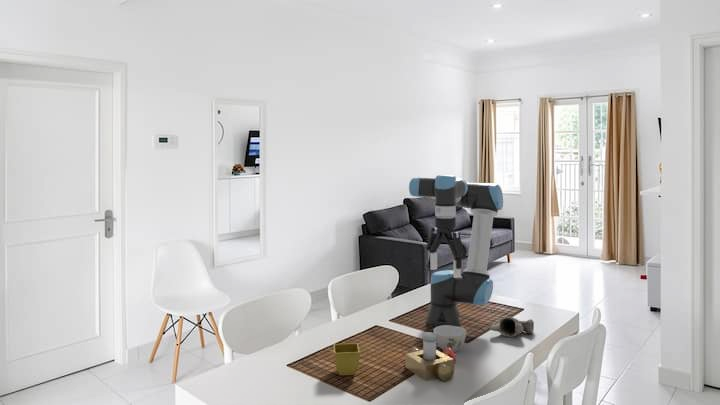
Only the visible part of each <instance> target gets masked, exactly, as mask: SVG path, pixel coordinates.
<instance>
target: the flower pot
mask: <svg viewBox="0 0 720 405" xmlns="http://www.w3.org/2000/svg"><path fill="white" fill-rule="evenodd" d="M332 345H333V356H334V363H335V368H336V372H337V373H338V375H339V376H341V375H342V376H353V375H356V373H357V371H358V368H359V364H360V355H361V354H360V351H361V350H360V347H359V343H357V342H356V343H355V342H354V343H353V342H351V343H335V344H334V343H333V344H332Z"/></svg>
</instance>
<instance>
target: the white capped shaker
mask: <svg viewBox="0 0 720 405" xmlns="http://www.w3.org/2000/svg"><path fill="white" fill-rule="evenodd" d="M436 341H437V335H436V334H435V333H434V332H431V331H428V332H427V331H426V332H424V333H423V334H422V342H423V347H422V348H423V349H422V350H423V359H424V360H426V361H427V362H428V361H432V360H436V350H437V347H436V345H437V342H436Z"/></svg>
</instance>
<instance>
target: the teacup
mask: <svg viewBox="0 0 720 405" xmlns="http://www.w3.org/2000/svg"><path fill="white" fill-rule="evenodd" d="M467 332H468V331H467V329H466V328H465V327H462V326H451V325H443V326H438V327H434V328H433V333H435V334H436V335H437V341H436V348H437V347H438V348H440V349H441V350H442V352H443V351H444V349H447V348H450V349H452V350H453V352H454V353H456V352H458V350H459V349H461V347H462V346H463V345H464V343H465V340H466V337H467Z"/></svg>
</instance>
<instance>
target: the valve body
mask: <svg viewBox="0 0 720 405" xmlns="http://www.w3.org/2000/svg"><path fill="white" fill-rule="evenodd" d="M404 358H405V360H404V361H405V362H404V363H405V364H404V365H405V367H404V368H405V369H407V370H408V371H409V372H411V373H413V374H415V375H416V376H418V377H419V378H421V379H422V380H424V381H430V380H432V379H433V380H434V379H435V378H438V379H440V380H442V381H444V382H449V381H450V380H451V379H452V378H453V375H454V371H455V370H454V368H455V367H454V366H455V364H456V362H457V361H456V360H457V358H456V354H455V352H453V350H452V349H450V348H447V349H444V351H443V350H442V352H441V351H440V350H438V349H436V360H432V361H428V362H427V361H426V360H424V359H423V349H419V348H418V347H415V346H412V347H410V348H409V349H408V350H407V353H405V355H404Z"/></svg>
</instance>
